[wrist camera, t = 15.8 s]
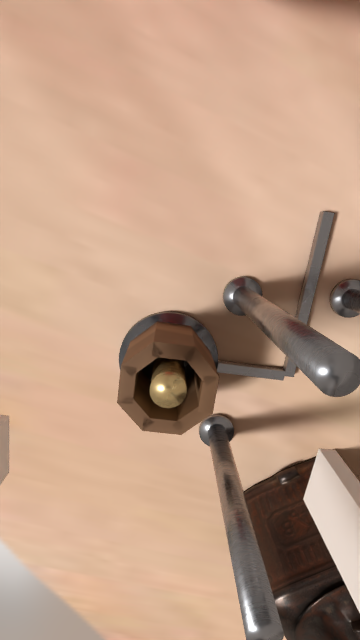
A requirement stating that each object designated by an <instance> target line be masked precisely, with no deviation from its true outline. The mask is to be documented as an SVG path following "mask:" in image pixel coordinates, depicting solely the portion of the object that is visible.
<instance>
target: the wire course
mask: <svg viewBox="0 0 360 640" xmlns="http://www.w3.org/2000/svg"><path fill="white" fill-rule="evenodd" d="M333 217H334V213H331V212H320V215H319V219H318V223H317V228H316V232H315V236H314V240H313V244H312V249H311V253H310V257H309V261H308V265H307V270H306V274H305V278H304V282H303V286H302V291H301V295H300V299H299V303H298V307H297V311H296V316H295V317H294V316H292V315H291V314H289V313H287V312H286V311H284V310H283V309H281V308H280V307H278V306H276V305H275V304H273V303H272V302H270V301H269V300H267V299H265V298H264V297H262V290H261V288H260V286H259V284H258V283H257V282H256V281H254V280H253V279H251V278H248V277H238V278H235V279H233V280H231V281H230V282H229V283H228V284H227V286H226V287H225V289H224V292H223V301H224V304H225V306H226V307H227V309H228V310H229V311H230V312H232V313H233V314H236V315H241V316H243V315H247V316H248V317H249V318H250V319H251V320H252V321H253V322H254V323H255V324H256V325H257V326H258V327H259V328H260V329H261V330H262V331H263V332H264V333H265V334H266V335H267V336H268V337H269V338H270V340H271V341H272V342H273V343H274V344H275V345H276V346H277V347H278V348H279V349H280V350H281V351H282V352H283V353H284V354H285V355H286V358H285V362H284V366H283V369H282V368H274V367H266V366H258V365H250V364H242V363H234V362H226V361H218V366H217V372H219V373H227V374H235V375H243V376H252V377H260V378H268V379H276V380H283V379H284V376H289V377H294V374H295V370H296V366H297V367H298V368H299V369H300V370H301V371H302V372H303V373H304V374H305V375H306V376H307V377H308V378H309V379H310V380H311V381H312V382H313V383H314V384H315V385H316V386H317V387H318V388H319V389H320V390H321V391H322V392H323V393H324V394H326V395H328V396H332V397H341V396H345V395H348V394H350V393H351V392H353V391H354V390H355V389H356V388H357V387H358V386H359V385H360V359H359V358H358V357H357V356H355V355H354V354H352V353H350V352H349V351H347V350H346V349H344V348H343V347H341V346H339V345H338V344H336V343H335V342H333V341H332V340H330V339H328V338H327V337H325V336H324V335H322V334H321V333H319V332H317V331H316V330H314V329H313V328H311V327H310V326H308V325H307V322H308V318H309V314H310V310H311V306H312V302H313V298H314V294H315V290H316V286H317V282H318V278H319V273H320V269H321V265H322V261H323V257H324V253H325V249H326V245H327V241H328V237H329V233H330V229H331V225H332V221H333ZM330 305H331V308H332V309H333V311H334V312H335V313H337V314H338V315H340V316H343V317H348V318H349V317H355V316H357V315H359V314H360V281H359V280H354V279H348V280H344V281H342V282H340V283H339V284H337V285H336V286H335V288H334V289H333V291H332V293H331V296H330ZM199 434H200V438H201V440H202V441H203V442H204V443H205V444H206V445H208V446H210V449H211V454H212V459H213V465H214V470H215V475H216V481H217V486H218V491H219V497H220V502H221V507H222V512H223V518H224V523H225V528H226V534H227V539H228V544H229V550H230V555H231V560H232V566H233V571H234V576H235V582H236V587H237V592H238V598H239V603H240V608H241V613H242V619H243V624H244V629H245V635H246V640H282V639H283V637H284V632H283V628H282V625H281V621H280V618H279V614H278V611H277V607H276V604H275V600H274V597H273V593H272V590H271V586H270V583H269V579H268V576H267V572H266V569H265V565H264V562H263V558H262V555H261V551H260V548H259V544H258V541H257V537H256V534H255V530H254V527H253V523H252V520H251V516H250V513H249V509H248V506H247V502H246V499H245V496H244V492H243V489H242V485H241V482H240V478H239V475H238V471H237V468H236V464H235V461H234V457H233V454H232V450H231V447H230V443H229V442H230V440H231V439H232V437H233V435H234V428H233V425H232V422H231V421H230V419H229V418H227V417H226V416H224V415H220V414H213V415H210V416H208V417H207V418H205V419H204V420H203V421H202V422H201V424H200V427H199Z"/></svg>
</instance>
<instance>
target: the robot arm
mask: <svg viewBox="0 0 360 640" xmlns="http://www.w3.org/2000/svg"><path fill="white" fill-rule="evenodd" d="M8 473H9V416H6V415H0V485H1V483H2V482H3V480H4V479H5V477H6V476H7V474H8ZM303 500H304V502H305V504H306V506H307V508H308V510H309V512H310V514H311V516H312V518H313V520H314V522H315V524H316V526H317V528H318V530H319V532H320V534H321V536H322V538H323V540H324V542H325V544H326V546H327V548H328V550H329V552H330V554H331V556H332V558H333V560H334V562H335V564H336V566H337V568H338V570H339V572H340V574H341V576H342V578H343V580H344V582H345V584H346V587H347V589H348V591H349V593H350V595H351V597H352V599H353V601H354V603H355V605H356V607H357V609H358V611H359V613H360V482H359V480H358V479H357V478H356V476H355V475H354V474H353V472H352V471H351V470H350V468H349V467H348V466H347V464H346V463H345V462H344V461H343V459H342V458H341V457H340V455H339V454H338V453H337V451H336V450H330V449H320V448H319V450H318V453H317V456H316V459H315V463H314V466H313V469H312V472H311V476H310V479H309V482H308V485H307V489H306V492H305V495H304V499H303Z"/></svg>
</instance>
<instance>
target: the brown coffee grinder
mask: <svg viewBox="0 0 360 640" xmlns="http://www.w3.org/2000/svg"><path fill="white" fill-rule="evenodd" d="M340 457H341V456H340ZM341 458H342V457H341ZM315 459H316V458H314V459H311V460H309V461H306V462H303V463H301V464H298V465H295V466H293V467H290V468H287V469H285V470H283V471H281V472H279V473H277V474H275V475H274V476H272V477H271V478H269V479H267V480H265V481H263V482H261V483H259V484H257V485H255V486H253V487H251V488H250V489H248V490H247V491H245V492H244V496H245V499H246V502H247V506H248V509H249V513H250V516H251V520H252V523H253V527H254V530H255V534H256V537H257V541H258V544H259V548H260V551H261V555H262V558H263V562H264V565H265V569H266V572H267V576H268V579H269V583H270V586H271V590H272V593H273V597H274V600H275V604H276V607H277V611H278V614H279V618H280V621H281V625H282V628H283V632H284V636H285V637H286V639H287V640H360V613H359V611H358V609H357V607H356V605H355V603H354V601H353V599H352V597H351V595H350V593H349V591H348V589H347V587H346V584H345V582H344V580H343V578H342V576H341V574H340V572H339V570H338V568H337V566H336V564H335V562H334V560H333V558H332V556H331V554H330V552H329V550H328V548H327V546H326V544H325V542H324V540H323V538H322V536H321V534H320V532H319V530H318V528H317V526H316V524H315V522H314V520H313V518H312V516H311V514H310V512H309V510H308V508H307V506H306V504H305V502H304V500H303V499H304V495H305V492H306V489H307V485H308V482H309V479H310V476H311V472H312V469H313V466H314V463H315Z"/></svg>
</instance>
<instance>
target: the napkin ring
mask: <svg viewBox="0 0 360 640" xmlns="http://www.w3.org/2000/svg"><path fill="white" fill-rule="evenodd" d="M158 357H161V358H169V359H177V360H185V361H187V362H188V363H189V364H190V366H191V367H192V368H193V369H194V375H193V376H192V377H190V378H189V379H187V380H186V388H187V394H186V397H185V399H184V401H183V402H182V403H181V404H179V405H178V406H176V407H173V408H163V407H160V406H158V405H157V404H155V403H154V402H153V400H152V399H151V396H150V384H151V381H150V380H149V379H148V377H147V376H146V375H145V374H144V373H143V372H142V370H141V369H143V368H144V367H145V366H147V365H148V364H150V363H151V362H152V361H154V360H155V359H156V358H158ZM218 381H219V375H218V372H217V369H216V366H215V364H214V361H213V358H212V355H211V352H210V350H209V349H208V348H207V346H206V345H205V344H204V343H203V341H202V340H201V339H200V337H199V336H198V335H197V334H196V332H195V331H194V330H193V328H192V327H191V326H188V325H180V324H172V323H165V322H156V323H154V324H153V325H152V326H150V327H149V328H148V329H146V330H145V331H144V332H142V333H141V334H140V335H138V336H137V337H136V338H134V339H133V340H132V341H130V344H129V347H128V349H127V352H126V354H125V357H124V359H123V362H122V364H121V371H120V380H119V390H118V400H117V403H118V404H119V405H120V406H121V407H122V409H123V410H124V411H125V412H126V413H127V414H128V415H129V416H130V417H131V419H132V420H133V421H134V422H135V423H136V424H137V425H138V426H139V427H140V429H141V430H142V431H150V432H160V433H169V434H178V435H182V434H183V433H184V432H186V431H187V430H189V429H190V428H192V427H193V426H195V425H196V424H198V423H199V422H201V421H202V420H204V419H205V418H207V417H208V416H210V415H211V414H213V408H214V403H215V398H216V392H217V387H218Z"/></svg>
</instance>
